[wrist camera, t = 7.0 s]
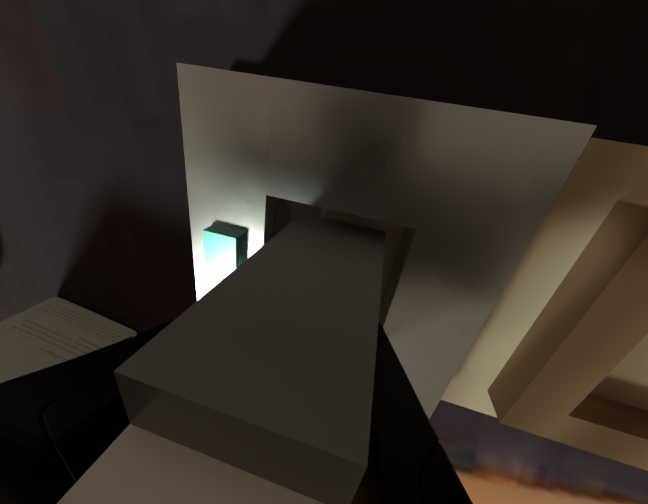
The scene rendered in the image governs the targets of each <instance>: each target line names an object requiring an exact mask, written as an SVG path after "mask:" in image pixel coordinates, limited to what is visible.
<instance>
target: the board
mask: <svg viewBox="0 0 648 504" xmlns="http://www.w3.org/2000/svg"><path fill="white" fill-rule="evenodd" d="M617 200H620V201H626V202H631V203H636V204H642V205H647V206H648V146H643V145H636V144H630V143H624V142H617V141H611V140H604V139H598V138H592V137H590V139H589V141H588V142H587V144H586V146H585V148H584V149H583V151H582V153H581V155H580V156H579V158H578V160H577V162H576V163H575V165H574V167H573V169H572V170H571V172H570V174H569V176H568V177H567V179H566V181H565V183H564V184H563V186H562V188H561V190H560V191H559V193H558V195H557V197H556V198H555V200H554V202H553V204H552V205H551V207H550V209H549V211H548V212H547V214H546V216H545V218H544V219H543V221H542V223H541V225H540V226H539V228H538V230H537V232H536V233H535V235H534V237H533V238H532V240H531V242H530V244H529V245H528V247H527V249H526V251H525V252H524V254H523V256H522V258H521V259H520V261H519V263H518V265H517V266H516V268H515V270H514V272H513V273H512V275H511V277H510V279H509V280H508V282H507V284H506V286H505V287H504V289H503V291H502V293H501V294H500V296H499V298H498V300H497V301H496V303H495V305H494V307H493V308H492V310H491V312H490V314H489V315H488V317H487V319H486V321H485V322H484V324H483V326H482V328H481V329H480V331H479V333H478V335H477V336H476V338H475V340H474V342H473V343H472V345H471V347H470V349H469V350H468V352H467V354H466V356H465V357H464V359H463V361H462V363H461V364H460V366H459V368H458V370H457V371H456V373H455V375H454V377H453V378H452V380H451V382H450V384H449V385H448V387H447V389H446V391H445V392H444V394H443V396H442V398H441V400H444V401H447V402H450V403H453V404H456V405H459V406H462V407H466V408H469V409H472V410H475V411H478V412H481V413H484V414H487V415H491V416H494V417H497V415H496V412H495V410H494V407H493V404H492V402H491V399H490V396H489V394H488V391H487V390H488V389H489V387H490V386H491V384H492V383H493V381H494V380H495V378H496V377H497V375H498V374H499V373H500V371H501V370H502V368H503V367H504V365H505V364H506V362H507V361H508V359H509V358H510V356H511V355H512V354H513V352H514V351H515V349H516V348H517V346H518V345H519V343H520V342H521V340H522V339H523V338H524V336H525V335H526V333H527V332H528V330H529V329H530V327H531V326H532V324H533V323H534V322H535V320H536V319H537V317H538V316H539V314H540V313H541V311H542V310H543V308H544V307H545V305H546V304H547V303H548V301H549V300H550V298H551V297H552V295H553V294H554V292H555V291H556V289H557V288H558V287H559V285H560V284H561V282H562V281H563V279H564V278H565V276H566V275H567V273H568V272H569V270H570V269H571V268H572V266H573V265H574V263H575V262H576V260H577V259H578V257H579V256H580V254H581V253H582V252H583V250H584V249H585V247H586V246H587V244H588V243H589V241H590V240H591V238H592V237H593V235H594V234H595V233H596V231H597V230H598V228H599V227H600V225H601V224H602V222H603V221H604V219H605V218H606V217H607V215H608V214H609V212H610V211H611V209H612V208H613V206H614V205H615V203H616V202H617ZM302 213H307V214H312V215H316V216H320V217H324V218H329V219H333V220H337V221H342V222H346V223H350V224H355V225H359V226H363V227H367V228H372V229H376V230H380V231H385V232H386V234H385V246H384V259H383V272H382V285H381V298H380V303H381V300H382V296H383V293H384V290H385V287H386V284H387V281H388V278H389V274H390V271H391V268H392V265H393V262H394V259H395V256H396V252H397V249H398V246H399V243H400V240H401V237H402V234H403V230H404V227H405V226H402V225H397V224H393V223H388V222H384V221H379V220H375V219H371V218H366V217H362V216H357V215H353V214H348V213H344V212H340V211H335V210H331V209H326V208H322V207H317V206H313V205H308V204H304V203H300V202H295V201H292V211H291V221H290V223H291V222H292V221H293V220H294V219H296V218H297V217H298V216H299V215H300V214H302ZM589 394H592V395H596V396H599V397H603V398H606V399H610V400H613V401H616V402H620V403H623V404H627V405H630V406H634V407H637V408H640V409H644V410H647V411H648V334H647V335H646V336H645V337H644V338H643V339H642V340H641V341H640V342H639V343H638V344H637V345H636V346H635V347H634V348H633V349H632V350H631V351H630V352H629V353H628V354H627V355H626V356H625V357H624V358H623V359H622V361H621V362H620V363H619V364H618V365H617V366H616V367H615V368H614V369H613V370H612V371H611V372H610V373H609V374H608V375H607V376H606V377H605V378H604V379H603V380H602V381H601V382H600V383H599V384H598V385H597V386H596V387H595V388H594V389H593V390H592V391H591V392H590V393H589Z"/></svg>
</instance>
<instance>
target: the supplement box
mask: <svg viewBox="0 0 648 504" xmlns="http://www.w3.org/2000/svg"><path fill="white" fill-rule="evenodd" d="M135 335H137V332H136V331H134V330H132V329H130V328H128V327H126V326H124V325H121V324H119V323H117V322H115V321H112V320H110V319H108V318H106V317H104V316H101V315H99V314H97V313H95V312H92V311H90V310H88V309H85V308H83V307H81V306H78V305H76V304H74V303H71V302H69V301H67V300H65V299H62V298H59V297H52V298H50V299H48V300H46V301H43V302H41V303H39V304H37V305H35V306H33V307H31V308H29V309H27V310H25V311H23V312H21V313H19V314H16V315H14V316H12V317H10V318H8V319H6V320H4V321H2V322H0V383H2V382H5V381H8V380H11V379H14V378H17V377H20V376H23V375H26V374H29V373H32V372H35V371H38V370H41V369H44V368H47V367H50V366H53V365H56V364H58V363H61V362H64V361H67V360H70V359H73V358H76V357H79V356H82V355H84V354H87V353H90V352H92V351H95V350H98V349H100V348H103V347H106V346H108V345H111V344H114V343H116V342H119V341H121V340H124V339H126V338H129V337H131V336H133V337H135Z"/></svg>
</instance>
